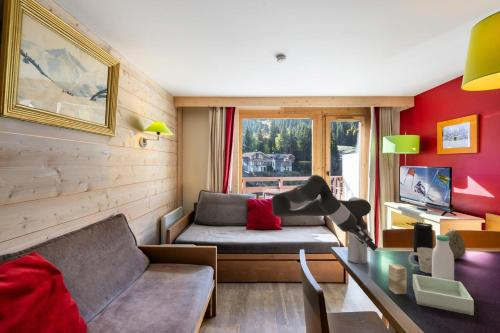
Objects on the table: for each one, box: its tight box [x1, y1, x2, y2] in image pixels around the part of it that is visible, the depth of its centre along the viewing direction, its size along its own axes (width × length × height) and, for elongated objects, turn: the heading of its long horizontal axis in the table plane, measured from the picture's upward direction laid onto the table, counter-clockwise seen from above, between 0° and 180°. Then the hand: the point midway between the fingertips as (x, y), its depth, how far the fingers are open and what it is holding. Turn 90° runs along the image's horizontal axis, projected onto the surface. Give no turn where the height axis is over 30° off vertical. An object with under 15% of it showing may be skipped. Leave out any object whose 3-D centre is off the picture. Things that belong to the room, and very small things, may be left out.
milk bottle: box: [431, 234, 455, 281], centre depth 113 cm, size 8×8×20 cm
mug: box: [407, 247, 434, 274], centre depth 125 cm, size 8×13×10 cm, turn 78°
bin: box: [412, 273, 475, 316], centre depth 99 cm, size 16×16×5 cm
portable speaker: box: [412, 221, 434, 261], centre depth 139 cm, size 9×9×20 cm
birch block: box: [388, 263, 408, 295], centre depth 105 cm, size 4×4×10 cm
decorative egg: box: [444, 230, 467, 260], centre depth 142 cm, size 11×11×15 cm
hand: (369, 245), depth 104 cm, fingers open, 8 cm apart
